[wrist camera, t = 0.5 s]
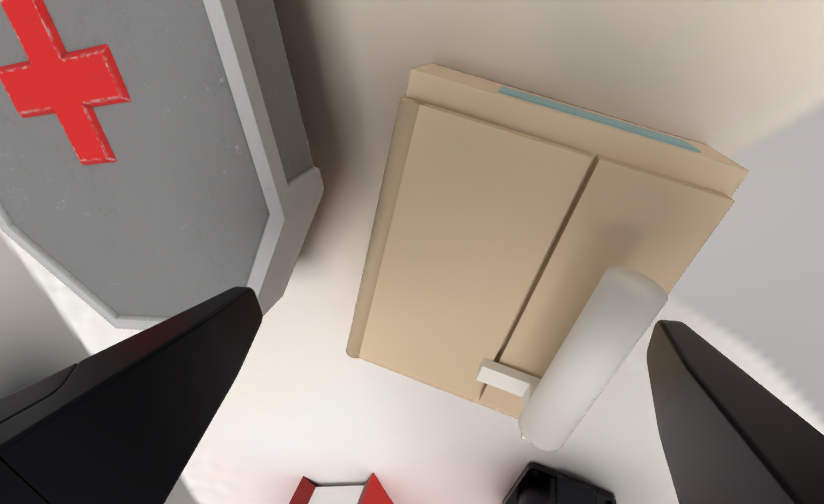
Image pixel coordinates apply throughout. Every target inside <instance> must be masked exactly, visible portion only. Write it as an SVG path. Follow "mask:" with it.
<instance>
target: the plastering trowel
mask: <svg viewBox="0 0 824 504" xmlns="http://www.w3.org/2000/svg"><path fill="white" fill-rule="evenodd" d="M591 160H592V156H591V154H590V153H587V152H583V151H580V150H577V149H574V148H570V147H567V146H564V145H561V144H558V143H554V142H551V141H548V140H545V139H541V138H538V137H535V136H532V135H529V134H525V133H522V132H519V131H516V130H512V129H509V128H506V127H503V126H499V125H496V124H493V123H490V122H487V121H483V120H480V119H477V118H474V117H470V116H467V115H464V114H461V113H457V112H454V111H451V110H448V109H445V108H441V107H438V106H435V105H432V104H428V103H425V102H423V101H421V100H418V99H415V98H411V97H401V99H400V103H399V108H398V113H397V117H396V122H395V127H394V131H393V136H392V140H391V145H390V150H389V154H388V159H387V164H386V168H385V173H384V177H383V182H382V187H381V191H380V196H379V201H378V205H377V210H376V214H375V219H374V224H373V228H372V233H371V238H370V242H369V247H368V251H367V256H366V261H365V265H364V270H363V275H362V279H361V284H360V288H359V293H358V298H357V302H356V307H355V312H354V316H353V321H352V325H351V330H350V335H349V339H348V344H347V349H346V353H347V354H348V356H350V357H352V358H360V359H363V360H365V361H368V362H371V363H373V364H376V365H378V366H381V367H384V368H386V369H389V370H391V371H394V372H396V373H399V374H402V375H404V376H407V377H409V378H412V379H415V380H417V381H420V382H422V383H425V384H428V385H430V386H433V387H435V388H438V389H441V390H443V391H446V392H448V393H451V394H454V395H456V396H459V397H461V398H464V399H467V400H469V401H472V402H474V400H475V398H476V396H477V394H478V392H479V390H480V388H481V386H482V384H483V383H486V384H489V385H491V386H494V387H497V388H499V389H502V390H504V391H507V392H510V393H512V394H515V395H518V396H520V397H522V413H521V414H520V416H519V420H518V422H519V428H520V430H521V439H522V440H525V441H528V442H530V443H531V444H532V445H533V446H535V447H537V448H539V449H541V450H544V451H549V452H553V451H556V450H558V449H560V448H561V447H562V445H563V444H564V442H565V441H566V440H567V438H568V437H569V435H570V434H571V433H572V431H573V430H574V429H575V427H576V426H577V424H578V423H579V422H580V420H581V419H582V418H583V416H584V415H585V413H586V412H587V411H588V409H589V408H590V407H591V405H592V404H593V402H594V401H595V400H596V398H597V397H598V395H599V394H600V393H601V391H602V390H603V389H604V387H605V386H606V384H607V383H608V382H609V380H610V379H611V378H612V376H613V375H614V373H615V372H616V371H617V369H618V368H619V367H620V365H621V364H622V362H623V361H624V360H625V358H626V357H627V355H628V354H629V353H630V351H631V350H632V349H633V347H634V346H635V344H636V343H637V342H638V340H639V339H640V338H641V336H642V335H643V333H644V332H645V331H646V329H647V328H648V327H649V325H650V324H651V322H652V321H653V320H654V318H655V317H656V315H657V314H658V313H659V311H660V310H661V309H662V307H663V306H664V304H665V303H666V302H667V300H668V296H667V294H666V292H665V291H664V290H663V289H662V288H661V287H660V286H659V285H658V284H657V283H656V282H654V281H653V280H651V279H650V278H648V277H647V276H645V275H643V274H641V273H639V272H637V271H634V270H631V269H628V268H625V267H620V266H611V267H609V268H607V270H606V272H605V273H604V275H603V277H602V278H601V280H600V282H599V283H598V285H597V287H596V288H595V290H594V292H593V293H592V295H591V297H590V298H589V300H588V302H587V303H586V305H585V307H584V309H583V310H582V312H581V314H580V315H579V317H578V319H577V320H576V322H575V324H574V325H573V327H572V329H571V330H570V332H569V334H568V335H567V337H566V339H565V340H564V342H563V344H562V345H561V347H560V349H559V351H558V352H557V354H556V356H555V357H554V359H553V361H552V362H551V364H550V366H549V367H548V369H547V371H546V372H545V374H544V376H543V377H542V379H539V378H536V377H534V376H531V375H528V374H526V373H523V372H520V371H518V370H515V369H512V368H510V367H507V366H504V365H501V364H499V363H496V362H493V361H494V359H495V357H496V355H497V353H498V351H499V349H500V347H501V345H502V343H503V341H504V338H505V336H506V334H507V332H508V330H509V328H510V326H511V324H512V322H513V320H514V318H515V316H516V314H517V312H518V310H519V308H520V306H521V304H522V302H523V300H524V298H525V295H526V293H527V291H528V289H529V287H530V285H531V283H532V281H533V279H534V277H535V275H536V273H537V271H538V269H539V267H540V265H541V263H542V261H543V259H544V257H545V255H546V252H547V250H548V248H549V246H550V244H551V242H552V240H553V238H554V236H555V234H556V232H557V230H558V228H559V226H560V224H561V222H562V220H563V218H564V216H565V214H566V212H567V209H568V207H569V205H570V203H571V201H572V199H573V197H574V195H575V193H576V191H577V189H578V187H579V185H580V183H581V181H582V179H583V177H584V175H585V173H586V171H587V169H588V167H589V164H590V162H591Z"/></svg>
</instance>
